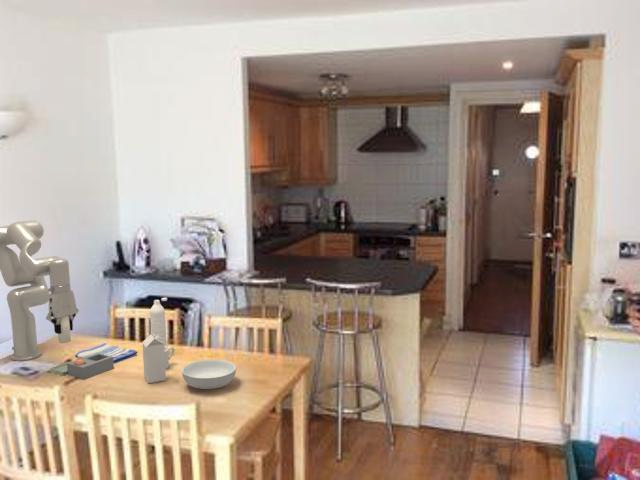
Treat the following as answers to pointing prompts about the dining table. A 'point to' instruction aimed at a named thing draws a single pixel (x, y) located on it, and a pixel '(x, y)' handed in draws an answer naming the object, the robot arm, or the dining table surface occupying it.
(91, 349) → the dish towel
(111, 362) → the housing
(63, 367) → the tray
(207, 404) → the dining table surface
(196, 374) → the serving bowl
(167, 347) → the mug
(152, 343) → the milk carton
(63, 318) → the cylinder
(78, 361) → the plunger
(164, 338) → the water bottle
